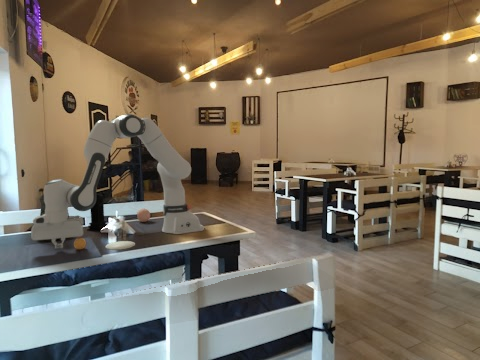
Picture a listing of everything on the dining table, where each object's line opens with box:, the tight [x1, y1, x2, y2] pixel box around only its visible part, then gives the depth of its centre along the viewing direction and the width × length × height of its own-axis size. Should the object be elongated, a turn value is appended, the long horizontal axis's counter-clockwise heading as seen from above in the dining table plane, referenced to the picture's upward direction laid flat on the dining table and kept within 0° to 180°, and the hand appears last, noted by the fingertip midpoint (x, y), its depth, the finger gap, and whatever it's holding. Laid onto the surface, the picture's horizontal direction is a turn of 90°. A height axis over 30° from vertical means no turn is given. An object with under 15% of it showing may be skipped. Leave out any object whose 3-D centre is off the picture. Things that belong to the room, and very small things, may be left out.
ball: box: [73, 237, 87, 250], centre depth 156 cm, size 5×5×5 cm
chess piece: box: [86, 191, 108, 232], centre depth 192 cm, size 8×8×20 cm
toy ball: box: [136, 208, 151, 223], centre depth 210 cm, size 8×8×8 cm
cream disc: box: [105, 240, 136, 251], centre depth 161 cm, size 13×13×1 cm
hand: (59, 248), depth 153 cm, fingers closed
